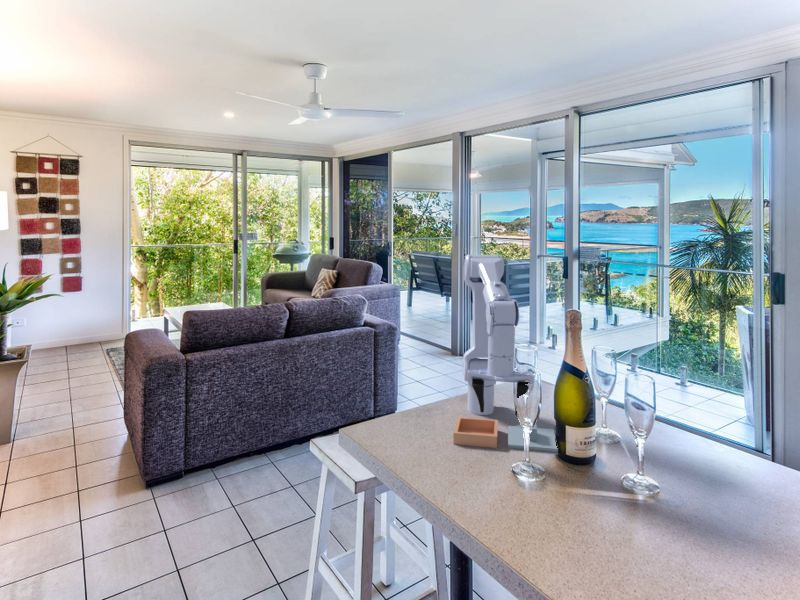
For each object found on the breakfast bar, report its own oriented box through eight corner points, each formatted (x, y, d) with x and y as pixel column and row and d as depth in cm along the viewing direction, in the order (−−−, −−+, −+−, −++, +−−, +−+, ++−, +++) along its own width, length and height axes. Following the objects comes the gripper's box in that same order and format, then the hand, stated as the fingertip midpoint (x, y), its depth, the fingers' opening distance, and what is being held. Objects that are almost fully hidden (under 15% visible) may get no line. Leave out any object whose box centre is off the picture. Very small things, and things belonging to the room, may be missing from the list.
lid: (507, 428, 124) (508, 414, 123) (553, 432, 122) (554, 417, 121) (507, 447, 113) (508, 432, 113) (557, 452, 111) (558, 436, 110)
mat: (507, 430, 125) (508, 427, 125) (553, 433, 123) (553, 430, 123) (507, 453, 112) (507, 449, 112) (558, 457, 110) (558, 454, 110)
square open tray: (457, 429, 125) (457, 416, 125) (497, 433, 123) (498, 420, 123) (453, 447, 116) (453, 432, 115) (496, 451, 113) (497, 436, 113)
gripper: (466, 356, 107) (465, 416, 109) (535, 360, 104) (532, 421, 106) (469, 348, 114) (468, 404, 116) (534, 352, 111) (531, 409, 113)
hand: (499, 412), depth 112 cm, fingers open, 7 cm apart
